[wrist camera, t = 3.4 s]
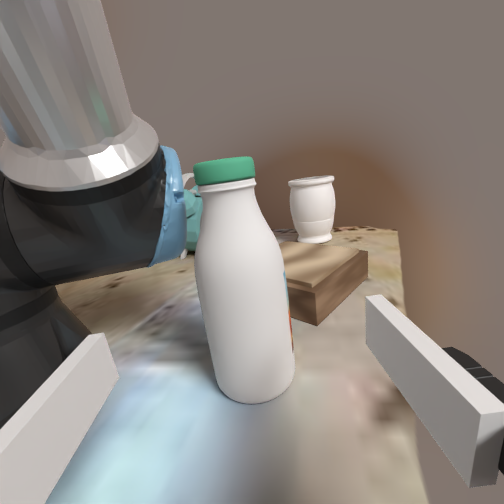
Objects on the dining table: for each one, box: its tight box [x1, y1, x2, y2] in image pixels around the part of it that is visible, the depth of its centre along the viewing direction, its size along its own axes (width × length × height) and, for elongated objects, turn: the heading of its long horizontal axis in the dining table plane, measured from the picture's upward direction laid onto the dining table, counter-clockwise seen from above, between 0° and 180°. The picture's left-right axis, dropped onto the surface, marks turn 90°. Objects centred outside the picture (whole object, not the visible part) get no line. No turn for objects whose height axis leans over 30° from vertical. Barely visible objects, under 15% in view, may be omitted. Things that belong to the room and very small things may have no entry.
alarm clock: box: [180, 173, 203, 259], centre depth 68 cm, size 17×10×20 cm, turn 165°
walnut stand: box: [279, 241, 368, 326], centre depth 42 cm, size 16×16×5 cm
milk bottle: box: [193, 157, 295, 404], centre depth 23 cm, size 8×8×20 cm
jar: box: [288, 176, 335, 244], centre depth 64 cm, size 11×10×15 cm
